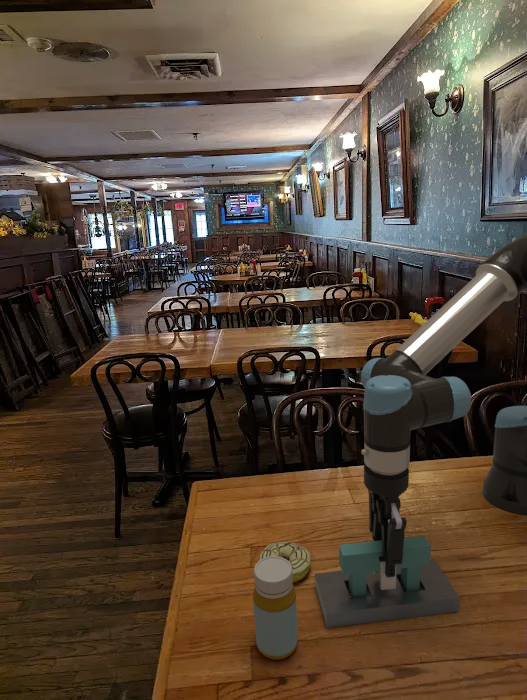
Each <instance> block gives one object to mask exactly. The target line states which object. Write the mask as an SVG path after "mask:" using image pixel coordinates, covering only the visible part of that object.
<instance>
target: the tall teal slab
mask: <svg viewBox="0 0 527 700" xmlns="http://www.w3.org/2000/svg"><path fill="white" fill-rule="evenodd" d="M431 552H432V546H431V544H430V542H429V540H428V539H427V538H426V537H425V535H418V536H410V537H409V536H408V537H404V546H403V560H402V564H396V569H401V585H402V588H403V590H404V592H412V591H420V566H427V565H430V560H431V555H432V554H431ZM379 556H382V540H380V541H372V540H371V541H364V542H354V543H346V544H344V543H343V544H338V560H339V561H338V564H339V567H340V569H341V570H340V571H342V573H343V575H348V574H349V591H350V593H349V595H350V598H351V599H353V598H362V597H367V596H366V572H374V571H380V561H379V558H378V557H379Z"/></svg>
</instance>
